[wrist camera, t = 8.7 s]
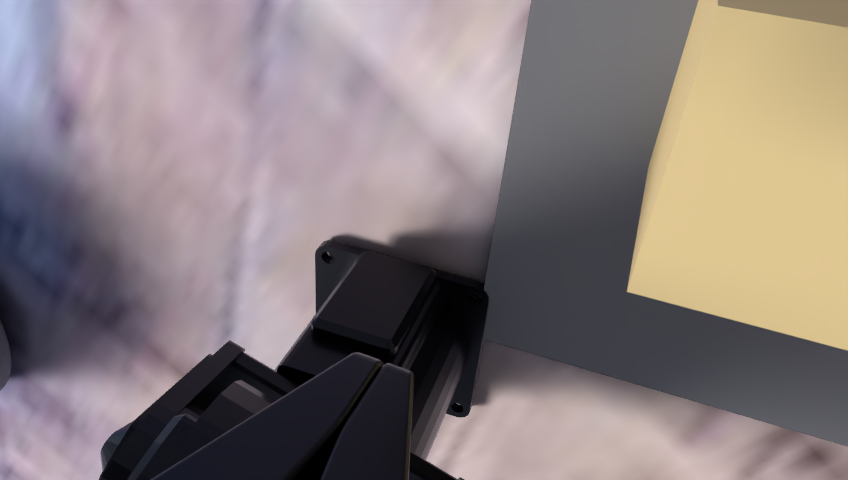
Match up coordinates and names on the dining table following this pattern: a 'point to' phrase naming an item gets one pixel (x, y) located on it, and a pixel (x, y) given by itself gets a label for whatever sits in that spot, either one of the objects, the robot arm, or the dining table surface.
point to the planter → (4, 358)
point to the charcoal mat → (623, 228)
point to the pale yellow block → (754, 171)
